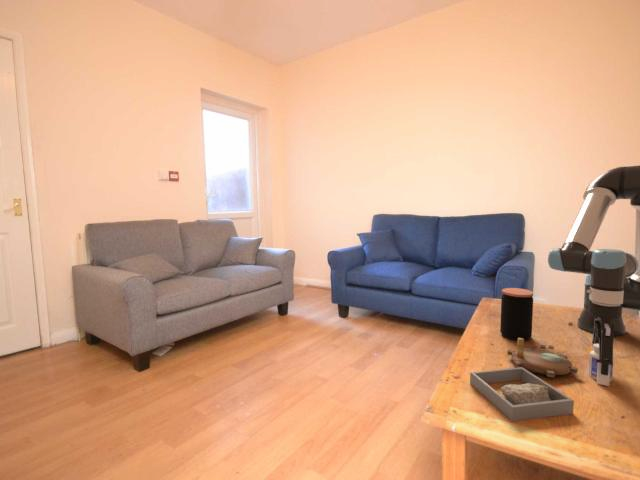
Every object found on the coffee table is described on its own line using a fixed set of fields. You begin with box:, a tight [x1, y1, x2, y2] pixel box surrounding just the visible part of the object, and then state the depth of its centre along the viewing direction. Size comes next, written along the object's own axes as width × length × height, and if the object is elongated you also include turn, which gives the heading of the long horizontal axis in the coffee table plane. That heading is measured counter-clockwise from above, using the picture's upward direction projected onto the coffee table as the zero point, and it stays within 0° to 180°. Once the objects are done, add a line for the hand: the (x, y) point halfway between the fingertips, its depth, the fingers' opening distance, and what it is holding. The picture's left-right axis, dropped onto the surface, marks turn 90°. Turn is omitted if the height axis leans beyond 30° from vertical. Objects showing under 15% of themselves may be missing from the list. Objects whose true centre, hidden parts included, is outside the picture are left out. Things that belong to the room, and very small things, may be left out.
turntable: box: [507, 338, 579, 378], centre depth 108 cm, size 19×17×7 cm
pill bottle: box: [588, 344, 614, 382], centre depth 101 cm, size 5×5×10 cm
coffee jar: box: [499, 287, 534, 342], centre depth 133 cm, size 11×11×18 cm
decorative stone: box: [500, 383, 551, 405], centre depth 90 cm, size 12×11×5 cm
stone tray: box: [469, 367, 575, 422], centre depth 92 cm, size 17×18×4 cm
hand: (600, 376), depth 102 cm, fingers open, 9 cm apart
